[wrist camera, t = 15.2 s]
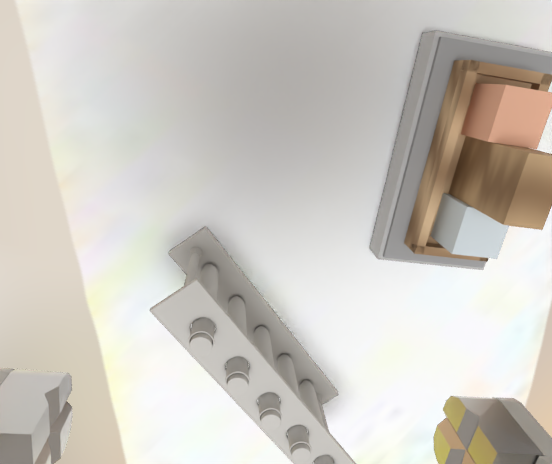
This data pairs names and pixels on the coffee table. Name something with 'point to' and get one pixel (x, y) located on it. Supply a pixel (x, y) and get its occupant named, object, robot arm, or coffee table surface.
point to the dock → (420, 130)
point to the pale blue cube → (467, 229)
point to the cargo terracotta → (507, 114)
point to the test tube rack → (249, 351)
